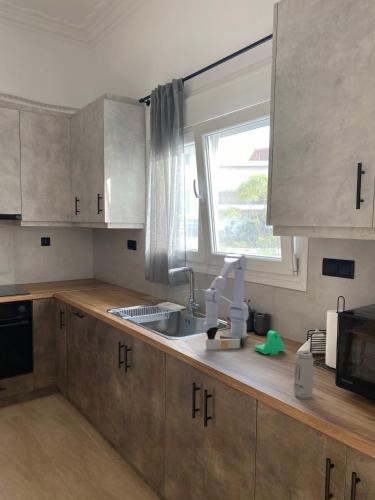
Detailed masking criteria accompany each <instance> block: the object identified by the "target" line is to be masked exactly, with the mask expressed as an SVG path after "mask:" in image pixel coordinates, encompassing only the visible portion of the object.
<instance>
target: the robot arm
mask: <svg viewBox="0 0 375 500" xmlns="http://www.w3.org/2000/svg"><path fill="white" fill-rule="evenodd" d="M247 261H248V259H247V257H246V256H245V254H233V253H226V255H225V256H224V259H223V264H224V265H223V267H222V269H221V271H220V274H219V275H218V276H217V277H215V278H214V280H213V281H212V283H211V285H210V287H209V288H208V289H206V290H204V294H203V296H202V297H203V300H204V305H205V321H204V322H203V323H202V324H203V327H202V331H203V332H205V334H206V336H207V339H216V334H217V333H218V331H219V328H218V326H219V325H220V320H219V302H220V301H221V298H222V293H223V292H222V291H223V290H224V288H225V286H226V284H227V283H226V279H228V277H229V275H230V273H231V272H232V271H233V272H234V282H233V284H234V285H233V297H232V298H233V301H232V302H231V303H229V305H228V309H227V316H228V318H229V320H230V333H232V334H238V335H244V338H245V339H246V338H247V337H248V336H249V335H248V334H247V327H248V326H247V320H248V319H249V316H250V314H249V306H248V305H247V304H246V303H245V302H244V293H245V277H246V276H245V273H246V272H245V271H247V263H248V262H247Z"/></svg>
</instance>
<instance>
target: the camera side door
mask: <svg viewBox="0 0 375 500" xmlns="http://www.w3.org/2000/svg"><path fill="white" fill-rule="evenodd" d="M240 348H241V347H240V339H220V338H219V339H217V338H215V339H208V338H207V339H205V349H206V350H208V349H209V350H212V349H213V350H215V349H216V350H219V349H240Z"/></svg>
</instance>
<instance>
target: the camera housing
mask: <svg viewBox="0 0 375 500" xmlns="http://www.w3.org/2000/svg"><path fill="white" fill-rule="evenodd" d="M219 339H240V348H242V347H244V346H245V345H246V338H244V335H238V334H232V333H231V332H224V333H222V334H221V335H219Z"/></svg>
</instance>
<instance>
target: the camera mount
mask: <svg viewBox="0 0 375 500" xmlns="http://www.w3.org/2000/svg"><path fill="white" fill-rule="evenodd" d="M266 338H267V340H266V342H265V343H263V344H257V345H255V346H254V351H258V352H260V353H261V354H264V355H267V354H268V355H269V356H270V355H276V354H279V353H280V352H281V351H285V347H286V346H285V345H284V343H283V341H282V338H281V337H280V335H279V332H277V331H274V330H269V331H268V332H267V334H266Z"/></svg>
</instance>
